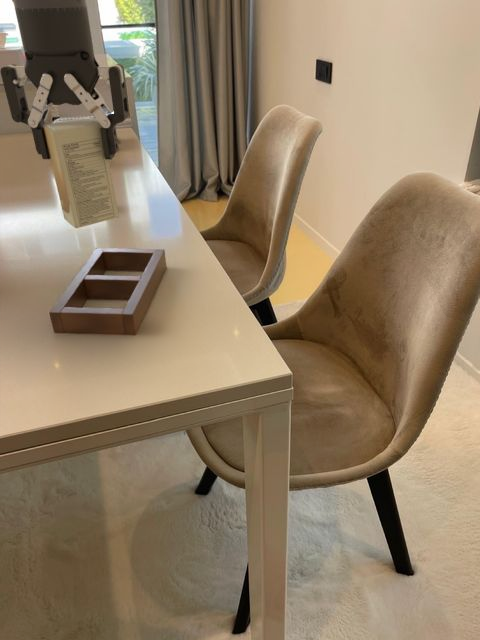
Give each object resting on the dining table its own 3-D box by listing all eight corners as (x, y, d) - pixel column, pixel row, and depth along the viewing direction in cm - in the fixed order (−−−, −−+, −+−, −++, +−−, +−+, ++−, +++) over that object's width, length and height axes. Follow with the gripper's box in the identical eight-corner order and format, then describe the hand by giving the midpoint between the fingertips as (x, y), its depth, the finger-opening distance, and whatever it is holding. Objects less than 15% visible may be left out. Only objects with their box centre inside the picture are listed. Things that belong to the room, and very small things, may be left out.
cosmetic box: (106, 209, 77) (91, 115, 70) (120, 218, 74) (105, 121, 68) (61, 219, 74) (40, 122, 67) (73, 229, 71) (52, 129, 64)
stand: (56, 343, 78) (48, 312, 76) (101, 275, 96) (96, 247, 93) (137, 345, 78) (132, 314, 75) (167, 276, 96) (164, 249, 93)
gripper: (124, 1, 63) (142, 150, 73) (1, 2, 64) (34, 150, 73) (106, 4, 57) (128, 167, 66) (-31, 5, 58) (10, 166, 67)
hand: (79, 157), depth 70 cm, fingers closed on cosmetic box, 7 cm apart
